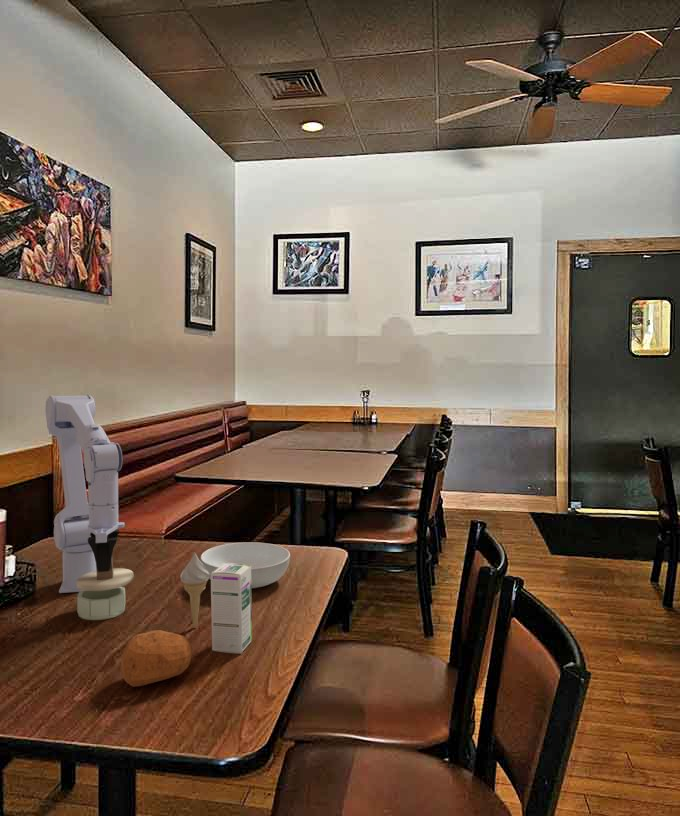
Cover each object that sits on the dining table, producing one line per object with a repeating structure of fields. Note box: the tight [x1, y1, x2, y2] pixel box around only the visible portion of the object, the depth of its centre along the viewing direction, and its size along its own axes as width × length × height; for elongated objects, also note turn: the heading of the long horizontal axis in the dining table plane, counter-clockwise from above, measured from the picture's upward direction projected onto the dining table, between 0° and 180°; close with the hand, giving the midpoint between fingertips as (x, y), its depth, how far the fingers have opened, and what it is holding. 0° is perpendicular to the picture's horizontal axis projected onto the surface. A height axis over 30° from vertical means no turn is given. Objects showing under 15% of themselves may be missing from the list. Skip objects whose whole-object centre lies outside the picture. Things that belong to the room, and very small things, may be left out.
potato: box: [120, 629, 193, 687], centre depth 105 cm, size 9×11×8 cm
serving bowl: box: [199, 541, 291, 589], centre depth 151 cm, size 21×21×7 cm
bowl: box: [76, 586, 126, 621], centre depth 132 cm, size 9×9×4 cm
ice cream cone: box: [179, 551, 210, 629], centre depth 125 cm, size 6×6×15 cm
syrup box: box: [210, 563, 253, 655], centre depth 117 cm, size 6×6×14 cm
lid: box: [77, 557, 135, 591], centre depth 133 cm, size 11×11×5 cm
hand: (104, 568), depth 132 cm, fingers closed on lid, 3 cm apart
